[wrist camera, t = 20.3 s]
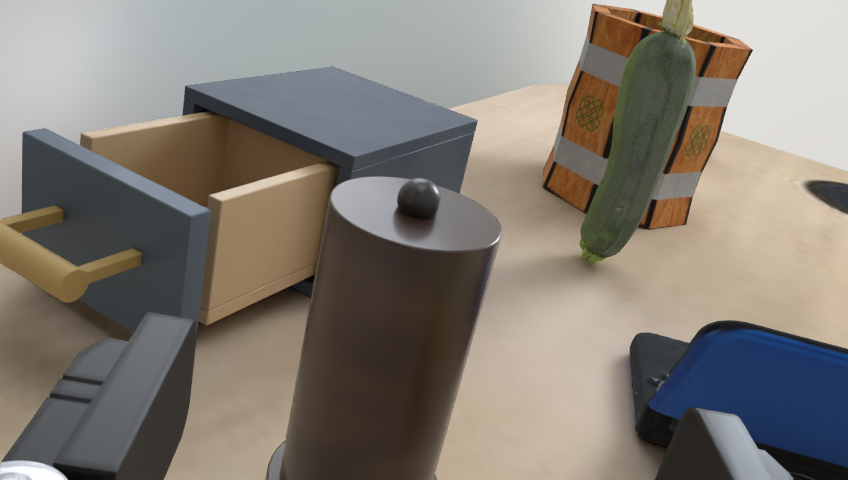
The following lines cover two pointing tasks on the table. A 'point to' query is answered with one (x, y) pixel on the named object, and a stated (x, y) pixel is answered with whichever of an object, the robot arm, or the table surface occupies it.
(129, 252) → the drawer
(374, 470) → the pepper mill
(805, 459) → the game console
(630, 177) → the vegetable
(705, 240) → the table surface
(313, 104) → the cabinet
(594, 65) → the mug
